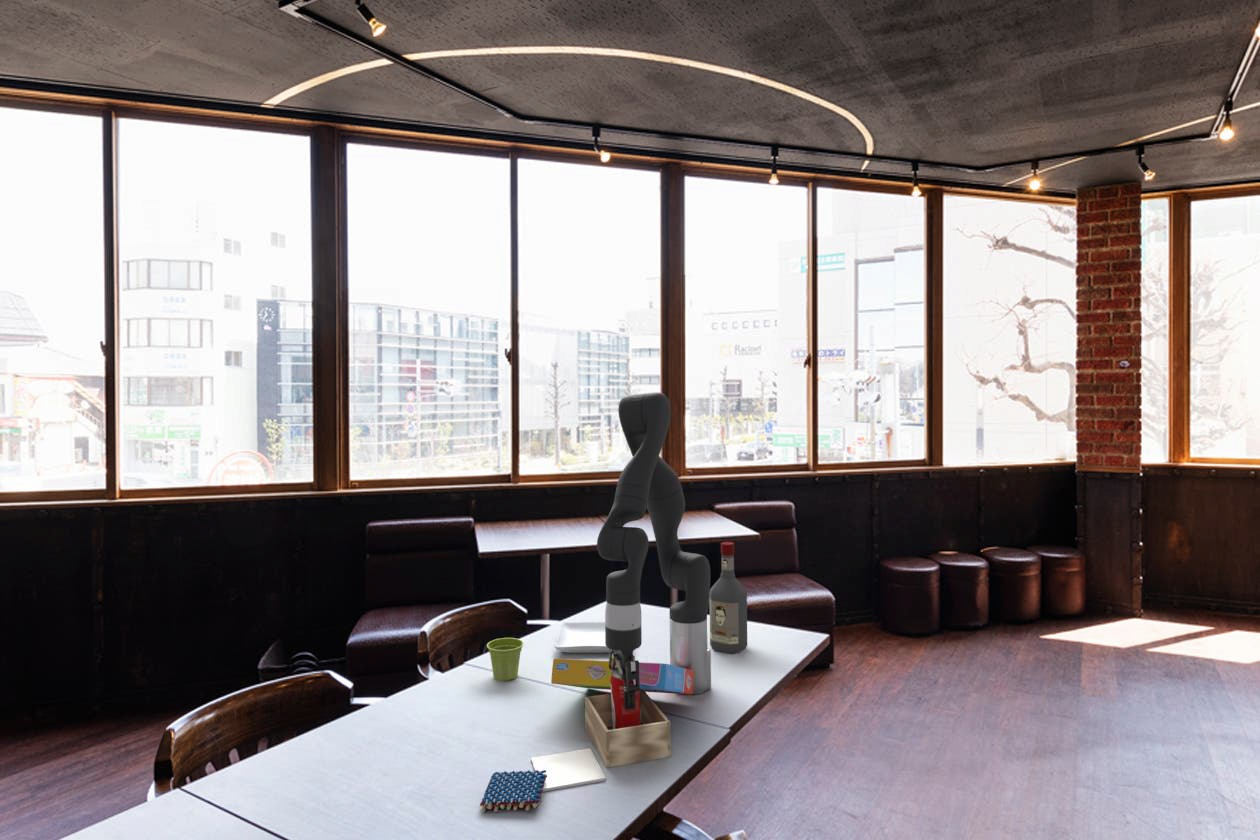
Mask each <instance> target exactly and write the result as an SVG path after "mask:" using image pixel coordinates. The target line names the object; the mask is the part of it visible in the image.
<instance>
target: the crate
mask: <svg viewBox="0 0 1260 840" xmlns="http://www.w3.org/2000/svg"><path fill="white" fill-rule="evenodd" d="M639 708H640V723H642V724H640V725H638V726H632V727H626V728H619V729H613V728H612V729H608V728H609V727H613V720H612V702H611V693H606V694H599V695H590V696H585V697H584V721H585V725H584V727H585V729H584V730H585V731H586V733H587V735H588V736H589V738H590V740H591V742H592V744H593V746H594V747H595V748H594V749H596V752H598V756H600V758H601V760H602V762H603V764H604V765H605V767H606V768H607V769H608V768H612V767H618V766H619V767H620V766H625V765H629V764H630V765H631V764H635V763H642V762H646V761H647V762H648V761H653V760H659V759H664V758H670V757H671V721H670V720H669V719H668V718H667V716H666V715H665V714H664V713H663V711H662V710H661V709H660V708H659V706H658V705H657V704H656V703H655V702H654V701H653V700H652V698H651V697H650V696H649V695H648V692H645V691H644V690H643V689H640V690H639Z"/></svg>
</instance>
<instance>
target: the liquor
mask: <svg viewBox="0 0 1260 840" xmlns="http://www.w3.org/2000/svg"><path fill="white" fill-rule="evenodd" d="M720 554H721V573H720V577H719V578H718V579H717V581H716V582H714V584H713V585H712V586H711V588H710V598H709V645H710V647H711V649H712V650H713V651H714V652H718V653H723V654H725V655H726V654H727V655H737V654H740V653H741V652H743V651H744V650H746V648H747V647H748V593H747V590H746V588H745V587H744V586H743V585H742V583H741V582H740V581H739V580H738V579H737V578H736V574H735V563H734V562H735V561H734V560H735V558H734V557H735V556H734V555H735V543H734V542H730V541H726V542H725V541H723V542H721V543H720Z"/></svg>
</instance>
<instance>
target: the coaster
mask: <svg viewBox="0 0 1260 840" xmlns="http://www.w3.org/2000/svg"><path fill="white" fill-rule="evenodd" d="M530 762H531V764H532V767H533V771H536V770H538V771H540V770H541V771H543V770H546V773H544V774H546V775H547V777H546V781H545V784H544V786H543V788H542V789H543V792H549V791H554V790H561V789H566V788H571V787H576V786H582V785H587V784H593V783H597V782H598V783H599V782H604V781H606V779H607V778H606V776H605V774H604V772H603V770H602V768H601V766H600V765H599V763H598V761H597V759H596V757H595V755H594V754H593V751H592V750H591V748H585V749H584V748H583V749H578V750H571V751H570V750H569V751H565V752H559V753H554V754H553V753H552V754H548V755H547V754H546V755H541V756H533V757H530ZM542 774H543V773H542ZM543 792H542V793H543Z"/></svg>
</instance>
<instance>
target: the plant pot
mask: <svg viewBox="0 0 1260 840" xmlns="http://www.w3.org/2000/svg"><path fill="white" fill-rule="evenodd" d="M523 646H524V641H523V640H522V639H520V638H515V637H503V638H496V639H493V640H491V641H489V642H488V643H486V647H487V650H488V652H489V655H490V661H491V669H492V676H493V678H494V679H495V681H497V682H499V681H500V682H508V681H510V680H515V679H516V678H517V677H518V674H519V668H520V667H519V666H520V657H521V652H522V648H523Z"/></svg>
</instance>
